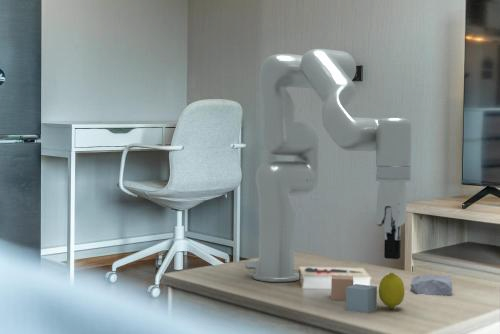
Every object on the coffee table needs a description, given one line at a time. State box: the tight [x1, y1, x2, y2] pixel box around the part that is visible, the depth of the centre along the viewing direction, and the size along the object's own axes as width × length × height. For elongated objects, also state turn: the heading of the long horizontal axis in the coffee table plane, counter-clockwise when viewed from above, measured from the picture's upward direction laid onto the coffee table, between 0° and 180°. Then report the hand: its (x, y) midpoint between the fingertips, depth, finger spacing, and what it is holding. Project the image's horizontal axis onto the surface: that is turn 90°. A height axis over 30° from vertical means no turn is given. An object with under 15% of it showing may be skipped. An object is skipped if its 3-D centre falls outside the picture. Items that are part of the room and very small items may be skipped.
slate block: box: [345, 283, 378, 314], centre depth 161 cm, size 5×5×5 cm
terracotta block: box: [330, 274, 354, 302], centre depth 173 cm, size 5×5×5 cm
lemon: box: [378, 272, 405, 310], centre depth 162 cm, size 6×6×8 cm
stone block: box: [410, 273, 453, 297], centre depth 183 cm, size 12×5×10 cm
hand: (392, 258), depth 161 cm, fingers closed
